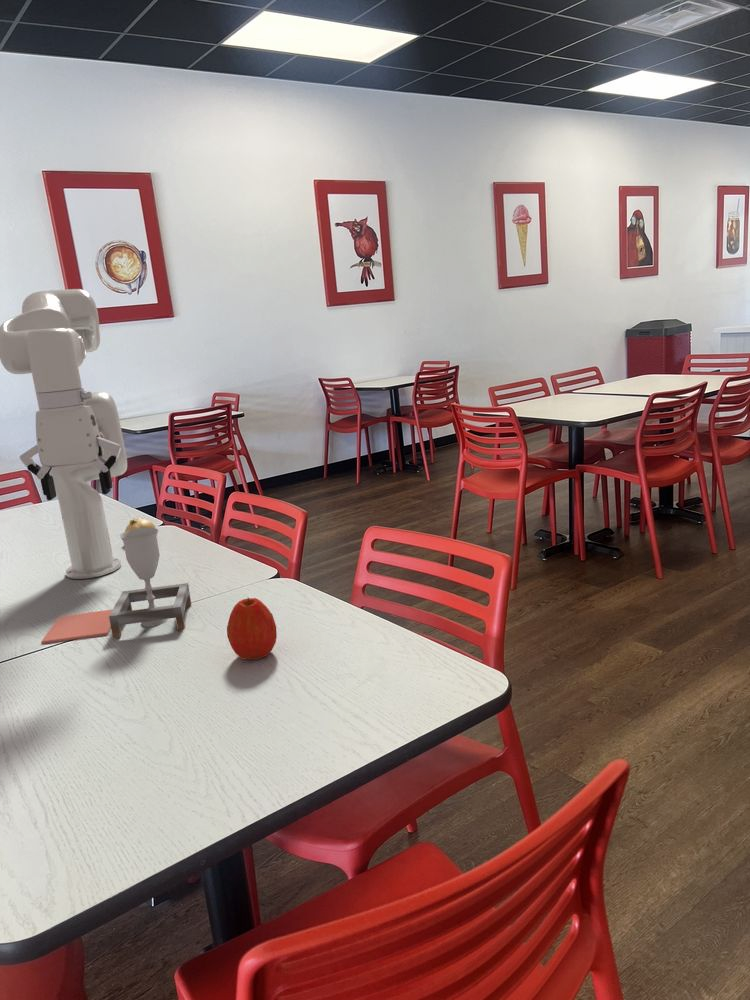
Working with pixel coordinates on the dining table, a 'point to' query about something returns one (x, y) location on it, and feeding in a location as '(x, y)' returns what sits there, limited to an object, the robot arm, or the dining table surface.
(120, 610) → the ring stand
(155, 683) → the dining table surface
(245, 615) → the apple
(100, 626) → the coaster
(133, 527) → the onion
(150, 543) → the chalice
